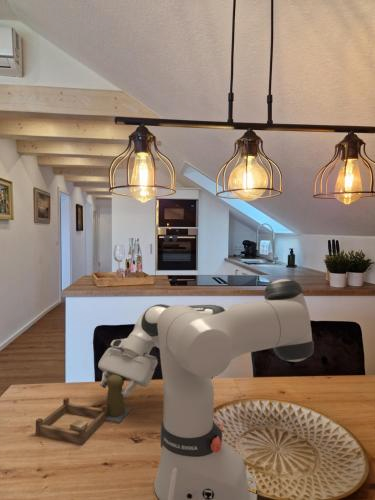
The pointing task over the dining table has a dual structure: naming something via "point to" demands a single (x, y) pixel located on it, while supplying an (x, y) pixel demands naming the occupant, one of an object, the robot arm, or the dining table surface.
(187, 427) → the robot arm
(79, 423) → the offcut stack
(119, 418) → the slate coaster
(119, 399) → the cork
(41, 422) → the frame
